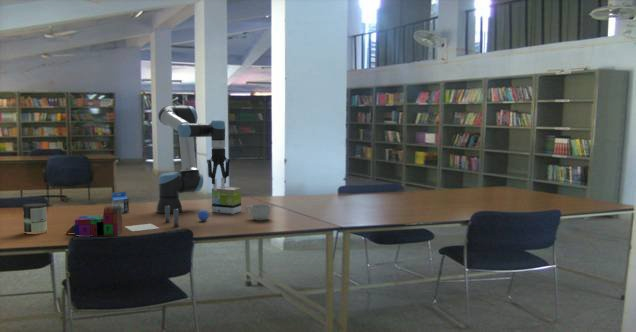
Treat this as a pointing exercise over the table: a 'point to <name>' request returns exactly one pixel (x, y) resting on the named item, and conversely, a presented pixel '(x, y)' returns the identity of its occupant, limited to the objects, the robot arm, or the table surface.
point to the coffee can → (35, 217)
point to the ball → (203, 215)
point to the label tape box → (121, 201)
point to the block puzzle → (99, 222)
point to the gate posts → (175, 215)
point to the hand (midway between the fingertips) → (219, 189)
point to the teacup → (259, 211)
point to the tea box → (226, 200)
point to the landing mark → (141, 227)
